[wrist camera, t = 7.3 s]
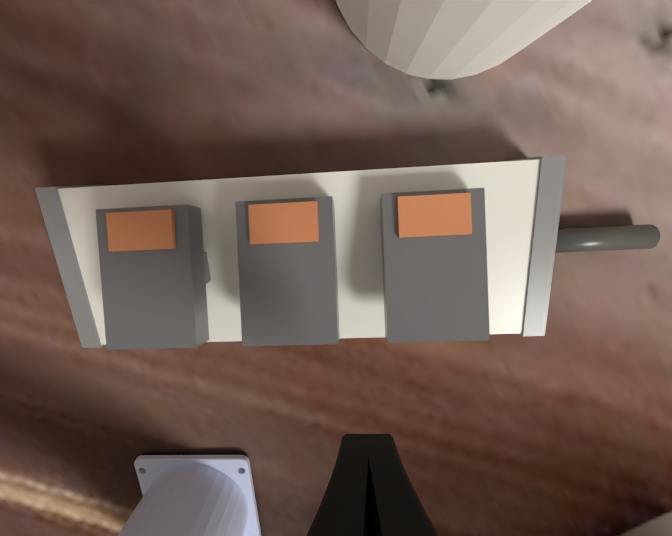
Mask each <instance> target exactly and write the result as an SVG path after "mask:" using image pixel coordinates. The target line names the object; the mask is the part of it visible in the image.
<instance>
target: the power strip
mask: <svg viewBox="0 0 672 536" xmlns="http://www.w3.org/2000/svg"><path fill="white" fill-rule="evenodd" d="M566 163H567V155H561V156H545V157H533V158H522V159H511V160H508V161H505V162H488V163H472V164H456V165H439V166H423V167H406V168H390V169H374V170H357V171H341V172H324V173H308V174H291V175H275V176H259V177H242V178H226V179H209V180H193V181H176V182H160V183H144V184H127V185H111V186H105V184H103V185H80V186H57V187H40V188H35V191H36V194H37V198H38V201H39V204H40V208H41V211H42V214H43V218H44V221H45V224H46V228H47V231H48V234H49V238H50V241H51V244H52V248H53V251H54V254H55V258H56V261H57V265H58V268H59V271H60V275H61V278H62V281H63V285H64V288H65V291H66V295H67V298H68V301H69V305H70V308H71V311H72V315H73V318H74V321H75V325H76V328H77V331H78V335H79V338H80V342H81V345H82V348H96V347H102V346H103V345H106V337H105V324H104V311H103V298H102V286H101V273H100V260H99V248H98V235H97V222H96V209H113V208H131V207H149V206H167V205H184V204H188V205H191V206H195V207H199V208H201V216H202V232H203V248H204V264H205V280H206V295H207V311H208V327H209V340H208V341H207V342H221V341H242V334H241V312H240V291H239V269H238V248H237V226H236V205H235V202H237V201H255V200H273V199H291V198H309V197H327V196H332V198H333V200H334V211H335V235H336V258H337V282H338V306H339V329H340V338H369V337H385V317H384V292H383V267H382V242H381V217H380V197H381V194H382V193H398V192H416V191H434V190H452V189H470V188H484V190H485V218H486V246H487V274H488V302H489V330H490V334H518V333H520V334H521V335H522V336H545V329H546V321H547V313H548V305H549V297H550V289H551V281H552V273H553V266H554V258H555V253H557V252H581V251H604V250H628V249H650V248H653V247H655V246H656V245H657V244H658V242H659V240H660V232H659V230H658V228H657V227H656V226H654V225H628V226H607V227H586V228H565V229H558V226H559V218H560V210H561V202H562V194H563V186H564V178H565V171H566Z"/></svg>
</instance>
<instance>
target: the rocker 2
mask: <svg viewBox="0 0 672 536" xmlns="http://www.w3.org/2000/svg"><path fill="white" fill-rule="evenodd" d="M235 205H236V226H237V248H238V269H239V291H240V312H241V334H242V346H280V345H319V344H338V343H339V339H340V329H339V306H338V282H337V258H336V235H335V211H334V200H333V198H332V196H327V197H309V198H291V199H273V200H255V201H237V202H235Z"/></svg>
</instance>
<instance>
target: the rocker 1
mask: <svg viewBox="0 0 672 536" xmlns="http://www.w3.org/2000/svg"><path fill="white" fill-rule="evenodd" d="M96 222H97V235H98V248H99V260H100V273H101V286H102V298H103V311H104V324H105V337H106V349H107V350H119V349H158V348H197V347H198V346H200V345H202V344H203V343H205V342H207V341H208V340H209V327H208V311H207V295H206V280H205V264H204V248H203V232H202V216H201V208H199V207H195V206H191V205H188V204H184V205H167V206H149V207H131V208H113V209H96Z"/></svg>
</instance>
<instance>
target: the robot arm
mask: <svg viewBox="0 0 672 536" xmlns="http://www.w3.org/2000/svg"><path fill="white" fill-rule="evenodd" d="M134 466H135V469H136V473H137V476H138V480H139V484H140V487H141V491H142V494H143V497H142V499H141V500H140V502H139V503H138V505H137V507H136V508H135V510H134V511H133V513H132V514H131V516H130V517H129V519H128V520H127V522H126V523H125V525H124V526H123V528H122V529H121V531H120V533H119V534H118V536H261V530H260V524H259V518H258V512H257V506H256V499H255V493H254V487H253V481H252V475H251V468H250V462H249V459H248V458H247V457H246V456H244V455H140V456H138V457H137V459H136V460H135V462H134ZM242 468H243V469H242ZM371 535H372V536H439V535H438V533H437V532H436V530H435V528H434V526H433V525H432V523H431V521H430V519H429V517H428V515H427V514H426V512H425V510H424V508H423V506H422V504H421V502H420V500H419V498H418V496H417V494H416V492H415V490H414V488H413V486H412V484H411V482H410V480H409V478H408V476H407V473H406V471H405V469H404V467H403V464H402V462H401V459H400V457H399V454H398V452H397V449H396V446H395V443H394V439H393V437H392V436H391V435H390V434H345V435H344V436H343V437H342V440H341V446H340V450H339V454H338V457H337V461H336V464H335V467H334V470H333V473H332V476H331V479H330V482H329V484H328V487H327V489H326V492H325V495H324V497H323V500H322V502H321V505H320V507H319V510H318V512H317V514H316V516H315V519H314V521H313V523H312V525H311V527H310V530H309V532H308V534H307V536H371Z"/></svg>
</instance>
